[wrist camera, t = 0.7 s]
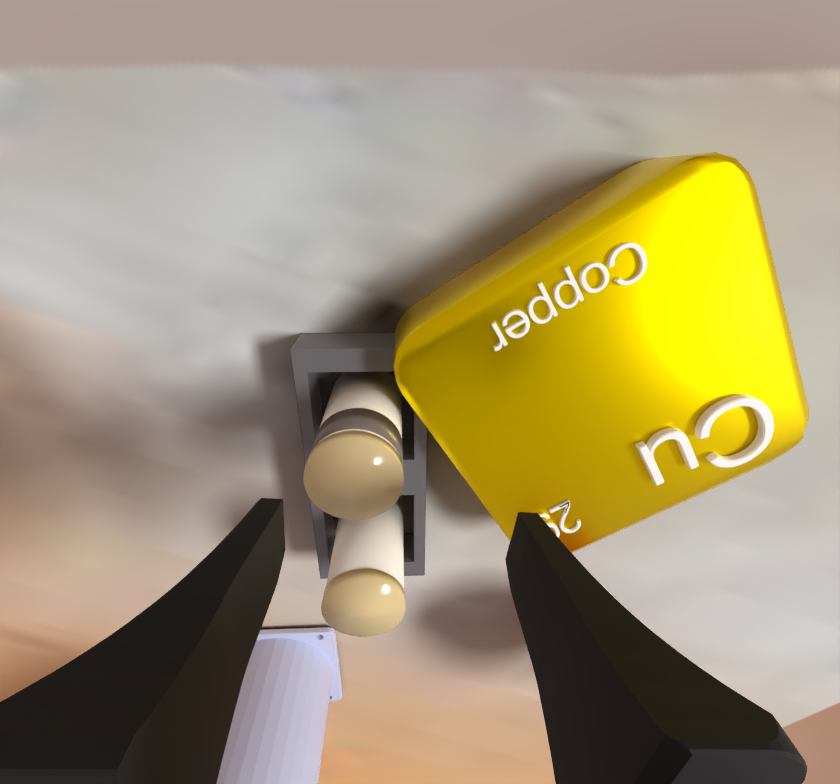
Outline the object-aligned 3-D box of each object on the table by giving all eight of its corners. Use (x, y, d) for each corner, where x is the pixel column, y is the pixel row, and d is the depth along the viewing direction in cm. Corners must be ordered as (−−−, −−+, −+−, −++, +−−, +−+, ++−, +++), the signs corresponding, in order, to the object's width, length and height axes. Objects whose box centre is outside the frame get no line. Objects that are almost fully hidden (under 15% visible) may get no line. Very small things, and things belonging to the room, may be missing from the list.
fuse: (343, 528, 26) (325, 638, 20) (338, 478, 24) (317, 581, 18) (403, 526, 26) (405, 635, 20) (403, 477, 24) (404, 578, 18)
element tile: (671, 136, 18) (757, 121, 14) (752, 400, 24) (830, 449, 19) (377, 324, 21) (371, 361, 17) (513, 518, 27) (535, 582, 23)
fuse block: (326, 549, 27) (320, 578, 25) (300, 333, 20) (290, 349, 18) (422, 546, 27) (424, 575, 25) (425, 332, 21) (428, 347, 19)
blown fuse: (333, 428, 23) (308, 521, 17) (327, 364, 21) (297, 440, 15) (402, 427, 23) (403, 518, 17) (402, 364, 21) (403, 438, 15)
